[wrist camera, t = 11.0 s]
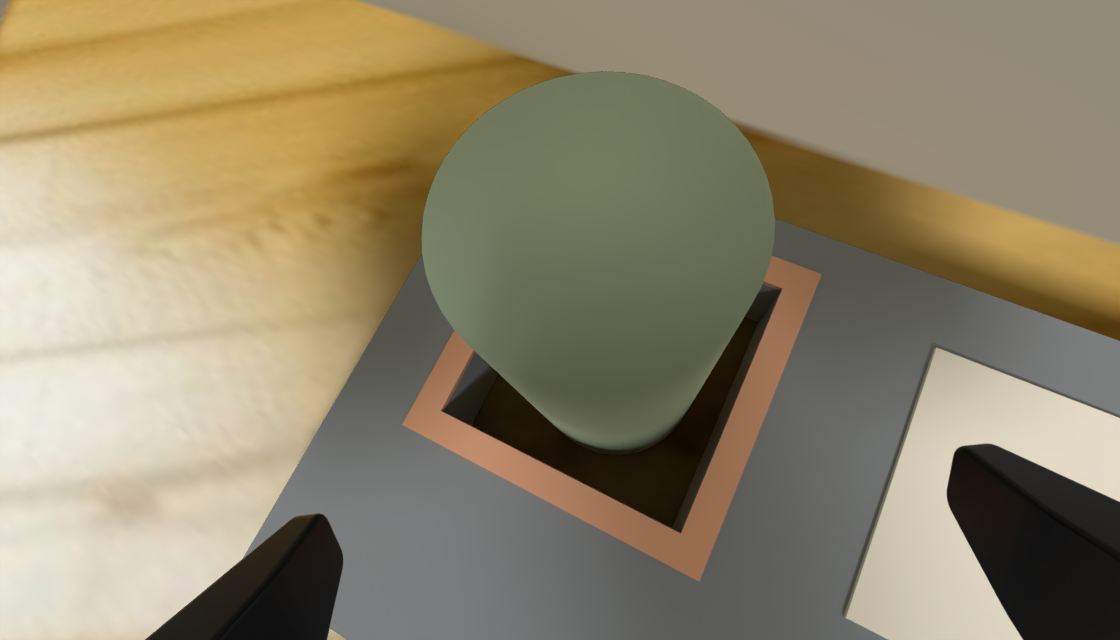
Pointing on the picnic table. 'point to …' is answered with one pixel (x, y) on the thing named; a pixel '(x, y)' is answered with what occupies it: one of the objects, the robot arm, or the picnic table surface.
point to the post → (600, 249)
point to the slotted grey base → (713, 473)
